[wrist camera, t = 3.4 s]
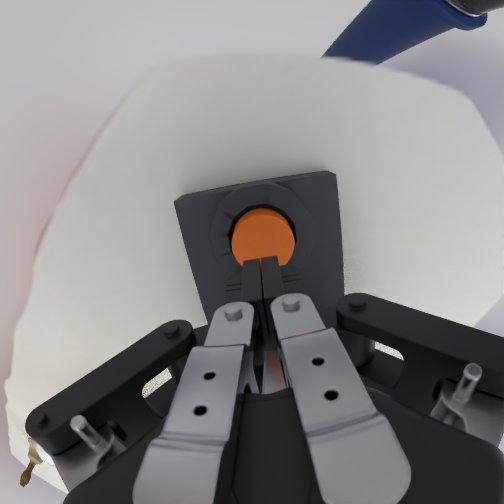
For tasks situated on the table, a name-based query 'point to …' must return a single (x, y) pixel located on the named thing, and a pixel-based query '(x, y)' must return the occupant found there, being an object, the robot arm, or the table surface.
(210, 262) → the push button base
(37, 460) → the hand bell
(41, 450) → the geometric ball
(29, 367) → the table surface
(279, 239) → the switch
